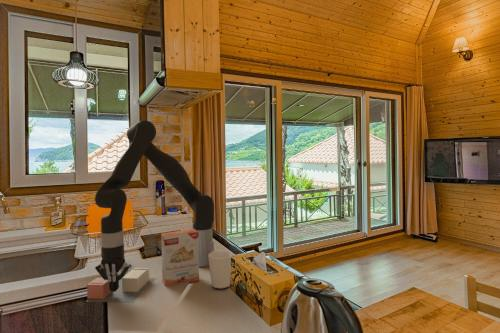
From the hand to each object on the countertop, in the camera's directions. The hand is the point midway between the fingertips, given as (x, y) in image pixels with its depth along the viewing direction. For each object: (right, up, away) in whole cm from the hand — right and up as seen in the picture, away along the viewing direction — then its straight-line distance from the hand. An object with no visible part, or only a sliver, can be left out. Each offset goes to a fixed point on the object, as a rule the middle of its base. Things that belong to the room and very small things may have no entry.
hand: (114, 290), depth 106 cm
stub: (-5, -2, +1) cm, 6 cm away
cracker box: (+21, -3, +13) cm, 25 cm away
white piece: (+1, -3, +6) cm, 6 cm away
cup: (+38, -2, +9) cm, 39 cm away
